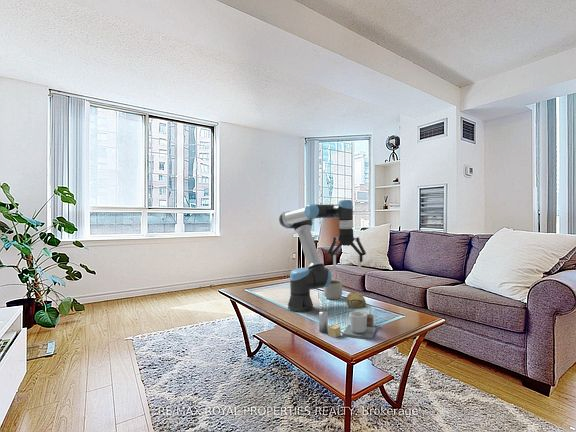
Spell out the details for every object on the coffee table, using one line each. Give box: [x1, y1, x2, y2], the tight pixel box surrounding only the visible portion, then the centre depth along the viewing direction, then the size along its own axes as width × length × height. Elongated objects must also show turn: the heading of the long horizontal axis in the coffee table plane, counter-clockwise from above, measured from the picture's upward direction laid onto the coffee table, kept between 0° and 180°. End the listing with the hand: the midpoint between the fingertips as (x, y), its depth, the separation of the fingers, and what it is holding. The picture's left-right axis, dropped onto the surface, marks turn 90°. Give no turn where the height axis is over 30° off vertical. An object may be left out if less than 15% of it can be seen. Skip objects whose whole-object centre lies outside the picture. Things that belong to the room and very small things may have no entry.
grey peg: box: [318, 310, 329, 334], centre depth 141 cm, size 4×4×9 cm
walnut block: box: [366, 313, 375, 327], centre depth 148 cm, size 5×5×5 cm
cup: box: [349, 311, 368, 333], centre depth 139 cm, size 11×8×8 cm
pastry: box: [345, 291, 367, 309], centre depth 184 cm, size 14×12×8 cm
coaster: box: [341, 324, 377, 341], centre depth 138 cm, size 13×13×1 cm
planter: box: [323, 279, 343, 300], centre depth 203 cm, size 12×12×11 cm
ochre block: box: [327, 324, 342, 339], centre depth 136 cm, size 4×4×4 cm
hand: (346, 267), depth 163 cm, fingers open, 13 cm apart
